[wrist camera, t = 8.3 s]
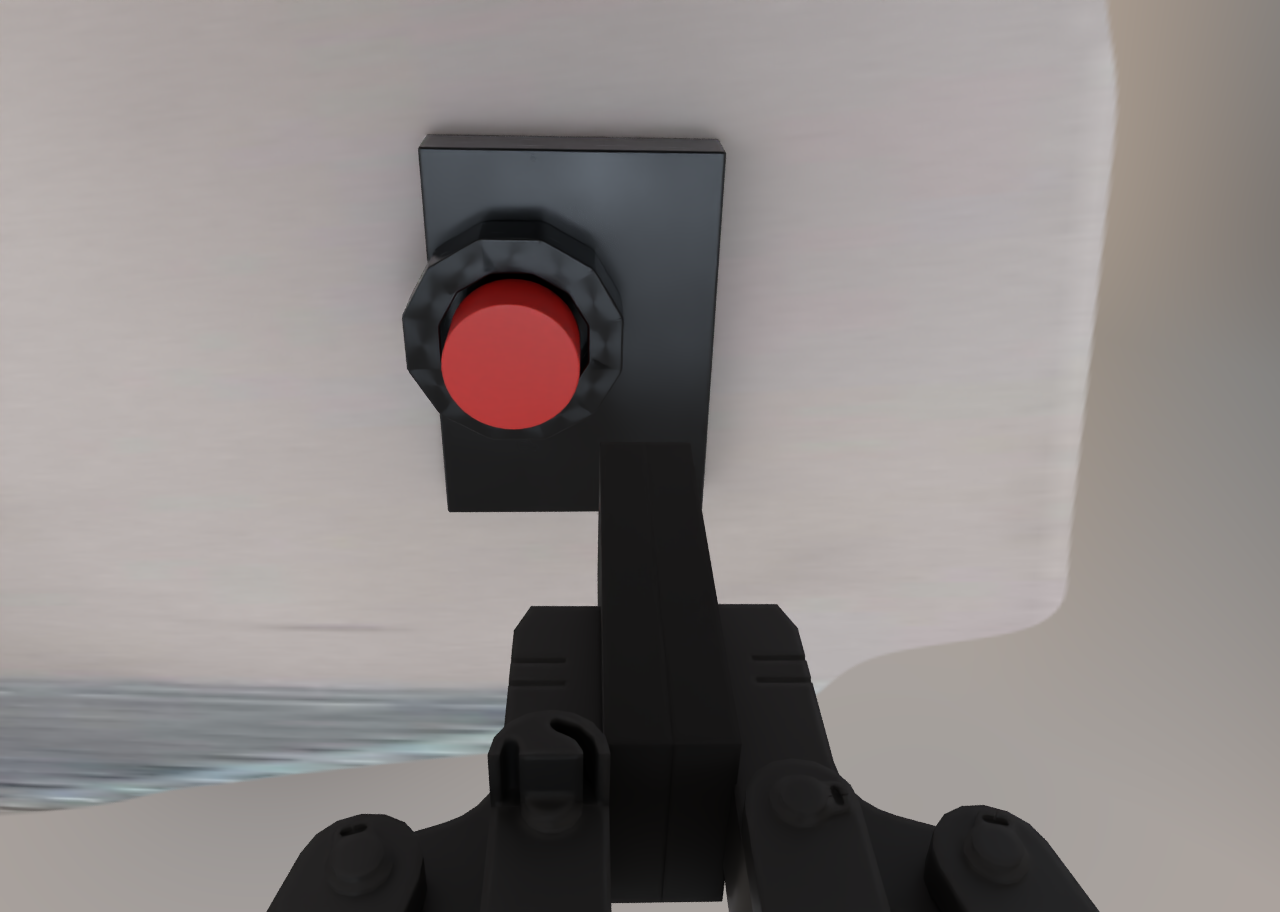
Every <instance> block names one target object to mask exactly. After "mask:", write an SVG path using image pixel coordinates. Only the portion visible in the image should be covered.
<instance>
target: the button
mask: <svg viewBox="0 0 1280 912" xmlns="http://www.w3.org/2000/svg"><path fill="white" fill-rule="evenodd" d="M441 369H442V376H443V380H444V383H445V386H446V388H447V390H448V392H449V394H450V395H451V397H452V398H453V400H454V401H455V402H456V404H457V405H458V406H459V407H460V408H461V409H462V410H463V411H464V412H466V413H467V414H468V415H470V416H471V417H472V418H474V419H476V420H478V421H480V422H482V423H484V424H487V425H490V426H493V427H497V428H502V429H524V428H530V427H533V426H537V425H540V424H542V423H544V422H546V421H548V420H550V419H551V418H553V417H555V416H556V415H557V414H558V413H560V412H561V411H562V410H563V409H564V408H565V407H566V406H567V404H568V403H569V402H570V400H571V399H572V397H573V395H574V393H575V391H576V388H577V385H578V381H579V377H580V333H579V328H578V324H577V322H576V319H575V317H574V315H573V313H572V311H571V310H570V308H569V307H568V305H567V304H566V303H565V302H564V301H563V300H562V299H561V298H560V297H559V296H558V295H557V294H555V293H554V292H553V291H551V290H550V289H548V288H546V287H544V286H542V285H540V284H538V283H535V282H532V281H527V280H522V279H502V280H497V281H493V282H490V283H487V284H485V285H482V286H480V287H479V288H477V289H475V290H474V291H472V292H471V293H470V294H469V295H468V296H467V297H465V299H464V300H463V301H462V302H461V303H460V305H459V306H458V308H457V309H456V311H455V313H454V316H453V318H452V321H451V325H450V328H449V331H448V335H447V338H446V341H445V345H444V348H443V351H442V358H441Z"/></svg>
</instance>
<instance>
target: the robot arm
mask: <svg viewBox="0 0 1280 912" xmlns="http://www.w3.org/2000/svg"><path fill="white" fill-rule="evenodd" d="M488 769H489V786H490V793H489V794H488V795H487V796H486V797H485V798H484V799H483V800H482V801H481V802H480V804H479V805H477V806H476V807H475V808H473V809H472V810H470V811H469V812H467V813H465V814H464V815H462V816H460V817H458V818H455V819H453V820H450V821H448V822H445V823H442V824H439V825H436V826H432V827H429V828H425V829H422V830H419V831H415V832H413V831H412V830H411V828H410V827H409V826H407V824H406V823H405V822H403V821H400V820H398V819H395V818H393V817H390V816H387V815H383V814H360V815H356V816H353V817H349V818H346V819H343V820H339V821H336V822H335V823H333V824H332V825H330V826H329V827H327V828H325V829H324V830H323V831H321V832H319V833H318V834H316V835H315V837H314V838H313V839H312V840H311V841H310V842H309V844H308V845H307V846H306V847H305V848H304V850H303V851H302V852H301V853H300V855H299V857H298V858H297V860H296V862H295V863H294V865H293V867H292V869H291V870H290V872H289V874H288V876H287V877H286V879H285V881H284V882H283V884H282V886H281V888H280V889H279V891H278V893H277V895H276V896H275V898H274V900H273V902H272V903H271V905H270V907H269V909H268V910H267V912H611V903H646V902H647V903H652V902H714V901H715V902H716V901H722V899H723V891H724V883H725V885H726V893H727V900H728V908H729V912H1099V910H1098V909H1097V908H1096V907H1095V905H1094V904H1093V902H1092V901H1091V900H1090V898H1089V897H1088V896H1087V894H1086V893H1085V892H1084V890H1083V889H1082V888H1081V886H1080V885H1079V884H1078V882H1077V881H1076V880H1075V878H1074V877H1073V876H1072V874H1071V873H1070V872H1069V870H1068V869H1067V867H1066V866H1065V865H1064V863H1063V862H1062V861H1061V860H1060V858H1059V857H1058V855H1057V854H1056V853H1055V851H1054V850H1053V849H1052V848H1051V846H1050V845H1049V843H1048V842H1047V841H1046V840H1045V839H1044V838H1043V837H1042V836H1041V835H1040V834H1039V833H1038V832H1037V831H1036V830H1035V829H1034V828H1033V827H1032V826H1031V825H1030V824H1029V823H1027V822H1025V821H1023V820H1022V819H1020V818H1018V817H1016V816H1015V815H1013V814H1011V813H1009V812H1007V811H1004V810H1000V809H996V808H993V807H989V806H985V805H975V806H961V807H959V808H957V809H955V810H953V811H950V812H948V813H946V814H944V816H943V817H942V818H941V820H940V821H939V823H938V824H937V825H936V826H933V825H930V824H926V823H922V822H918V821H914V820H911V819H907V818H903V817H900V816H896V815H893V814H891V813H888V812H885V811H882V810H880V809H877V808H876V807H874V806H872V805H871V804H869V803H867V802H866V801H864V800H862V799H861V798H860V797H859V796H858V795H856V794H855V793H854V790H853V789H852V787H851V785H850V784H849V783H848V782H847V781H846V780H844V779H843V778H842V777H841V776H840V775H839V773H838V771H837V768H836V766H835V764H834V761H833V757H832V754H831V750H830V746H829V742H828V739H827V735H826V732H825V728H824V724H823V720H822V717H821V713H820V709H819V706H818V702H817V698H816V694H815V691H814V687H813V683H811V676H810V672H809V668H808V665H807V661H805V654H804V650H803V646H802V642H801V639H800V635H799V631H798V628H797V627H796V626H795V625H794V623H793V622H792V621H791V620H790V619H789V618H788V616H787V615H786V614H785V613H784V612H783V611H782V610H781V608H780V607H779V606H778V605H777V604H718V602H717V596H716V590H715V584H714V578H713V573H712V567H711V561H710V555H709V549H708V543H707V537H706V532H705V526H704V520H703V514H702V508H701V502H700V497H699V491H698V485H697V479H696V473H695V467H694V461H693V456H692V450H691V444H690V443H678V442H600V465H599V521H598V606H531V607H530V609H529V610H528V611H527V613H526V614H525V616H524V617H523V618H522V620H521V621H520V623H519V624H518V625H517V627H516V628H515V630H514V635H513V645H512V655H511V665H510V675H509V686H508V695H507V705H506V714H505V724H504V728H503V729H502V730H501V731H500V732H499V733H498V734H497V735H496V736H495V737H494V739H493V742H492V744H491V747H490V750H489V753H488Z"/></svg>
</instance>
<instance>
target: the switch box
mask: <svg viewBox="0 0 1280 912" xmlns="http://www.w3.org/2000/svg"><path fill="white" fill-rule="evenodd" d="M418 154H419V166H420V178H421V190H422V202H423V214H424V226H425V239H426V251H427V263H428V264H427V265H426V267H425V269H424V271H423V273H422V275H421V277H420V279H419V281H418V283H417V284H416V286H415V288H414V290H413V292H412V294H411V296H410V299H409V301H408V303H407V306H406V308H405V310H404V313H403V317H402V322H403V332H404V342H405V352H406V362H407V369H408V370H409V373H410V374H411V375H412V377H413V378H414V380H415V381H416V382H417V384H418V385H419V386H420V388H421V389H422V390H423V392H424V393H425V394H426V396H427V397H428V398H429V400H430V401H431V403H432V404H433V405H434V407H435V408H436V409H437V411H438V412H439V413H440V420H441V432H442V444H443V456H444V468H445V480H446V493H447V505H448V511H449V512H574V511H599V465H600V442H678V443H690V444H691V450H692V456H693V461H694V467H695V473H696V479H697V485H698V491H699V497H700V502H701V508H702V502H703V487H704V473H705V458H706V443H707V429H708V414H709V399H710V384H711V370H712V355H713V340H714V325H715V311H716V296H717V281H718V266H719V252H720V237H721V222H722V208H723V193H724V178H725V163H726V152H725V150H724V149H723V147H722V145H721V143H720V141H719V140H718V139H682V138H619V137H557V136H494V135H432V134H428V135H426V137H425V138H424V140H423V142H422V143H421V145H420V146H419V148H418ZM502 279H522V280H527V281H532V282H535V283H538V284H540V285H542V286H544V287H546V288H548V289H550V290H551V291H553V292H554V293H555V294H557V295H558V296H559V297H560V298H561V299H562V300H563V301H564V302H565V303H566V304H567V305H568V307H569V308H570V310H571V311H572V313H573V315H574V317H575V319H576V322H577V324H578V328H579V333H580V377H579V381H578V385H577V388H576V391H575V393H574V395H573V397H572V399H571V400H570V402H569V403H568V404H567V406H566V407H565V408H564V409H563V410H562V411H561V412H560V413H558V414H557V415H556V416H555V417H553V418H551V419H550V420H548V421H546V422H544V423H542V424H540V425H537V426H533V427H530V428H524V429H502V428H497V427H493V426H490V425H487V424H484V423H482V422H480V421H478V420H476V419H474V418H472V417H471V416H470V415H468V414H467V413H466V412H464V411H463V410H462V409H461V408H460V407H459V406H458V405H457V404H456V402H455V401H454V400H453V398H452V397H451V395H450V394H449V392H448V390H447V388H446V386H445V383H444V380H443V376H442V369H441V358H442V351H443V348H444V345H445V341H446V338H447V335H448V331H449V328H450V325H451V321H452V318H453V316H454V313H455V311H456V309H457V308H458V306H459V305H460V303H461V302H462V301H463V300H464V299H465V297H467V296H468V295H469V294H470V293H471V292H472V291H474V290H475V289H477V288H479V287H480V286H482V285H485V284H487V283H490V282H493V281H497V280H502Z"/></svg>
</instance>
